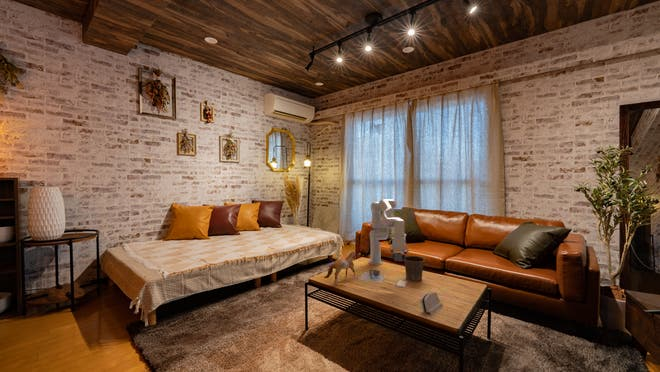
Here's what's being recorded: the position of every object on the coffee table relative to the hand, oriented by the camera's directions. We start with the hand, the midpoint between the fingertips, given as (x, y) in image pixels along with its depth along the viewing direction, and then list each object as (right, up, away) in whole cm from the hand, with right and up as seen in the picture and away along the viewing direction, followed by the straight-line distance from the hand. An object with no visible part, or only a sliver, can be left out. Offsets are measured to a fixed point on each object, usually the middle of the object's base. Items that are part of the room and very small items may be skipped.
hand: (398, 259), depth 206 cm
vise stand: (-19, -19, +10) cm, 28 cm away
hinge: (+11, -21, -37) cm, 44 cm away
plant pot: (+15, -19, +12) cm, 27 cm away
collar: (0, -1, 0) cm, 1 cm away
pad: (0, -19, +1) cm, 19 cm away
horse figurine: (-44, -19, +8) cm, 49 cm away
